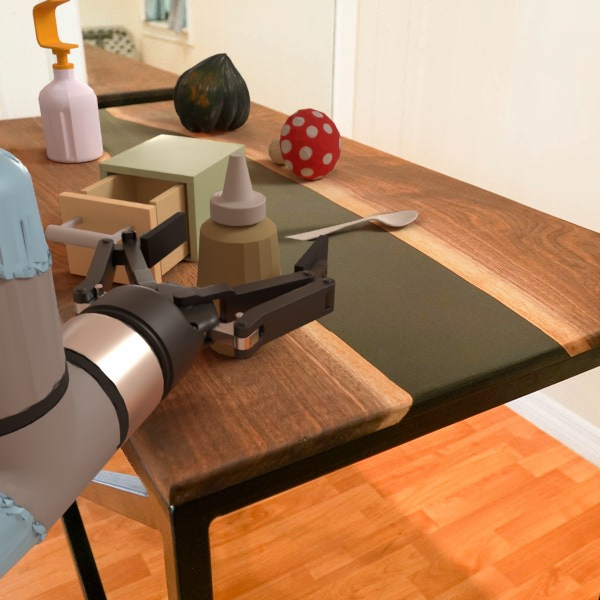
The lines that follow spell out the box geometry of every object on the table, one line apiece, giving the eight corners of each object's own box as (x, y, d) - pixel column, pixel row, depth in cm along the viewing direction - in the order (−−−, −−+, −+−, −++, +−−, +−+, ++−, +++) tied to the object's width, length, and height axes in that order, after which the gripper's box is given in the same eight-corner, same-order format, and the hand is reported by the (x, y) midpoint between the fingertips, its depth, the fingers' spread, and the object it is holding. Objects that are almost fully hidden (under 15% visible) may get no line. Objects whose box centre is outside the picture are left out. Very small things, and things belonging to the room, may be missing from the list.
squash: (146, 102, 124) (190, 43, 116) (187, 92, 136) (230, 38, 128) (196, 160, 125) (244, 105, 117) (233, 144, 137) (278, 93, 129)
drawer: (131, 312, 64) (121, 227, 60) (40, 292, 67) (25, 210, 63) (210, 245, 78) (207, 172, 74) (133, 231, 81) (125, 161, 77)
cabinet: (198, 268, 75) (193, 176, 70) (109, 251, 78) (98, 163, 73) (246, 225, 86) (245, 144, 81) (167, 212, 90) (161, 133, 85)
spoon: (424, 227, 88) (425, 215, 87) (281, 250, 80) (282, 237, 79) (407, 216, 91) (408, 205, 90) (269, 237, 83) (269, 225, 82)
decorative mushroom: (258, 107, 109) (309, 89, 97) (309, 137, 115) (363, 124, 103) (237, 168, 108) (287, 158, 95) (289, 196, 114) (343, 189, 102)
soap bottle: (75, 167, 106) (51, 0, 94) (36, 158, 110) (8, -3, 98) (114, 154, 113) (97, -3, 101) (76, 146, 117) (55, -6, 105)
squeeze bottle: (276, 319, 65) (277, 139, 57) (292, 364, 58) (297, 167, 50) (193, 326, 64) (182, 142, 55) (200, 374, 57) (189, 172, 48)
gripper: (-33, 370, 46) (132, 253, 64) (303, 459, 39) (384, 300, 57) (-58, 274, 42) (124, 178, 60) (307, 353, 35) (392, 218, 53)
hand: (251, 237), depth 58 cm, fingers open, 13 cm apart
